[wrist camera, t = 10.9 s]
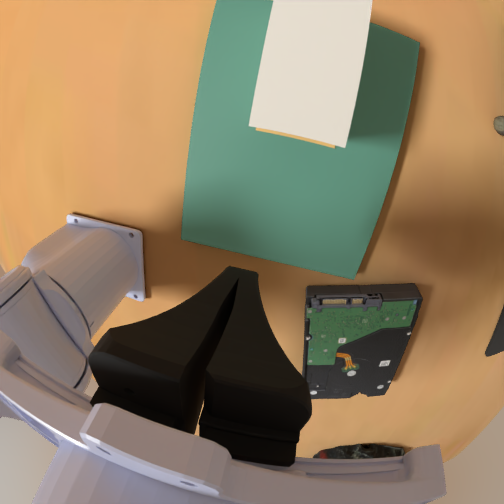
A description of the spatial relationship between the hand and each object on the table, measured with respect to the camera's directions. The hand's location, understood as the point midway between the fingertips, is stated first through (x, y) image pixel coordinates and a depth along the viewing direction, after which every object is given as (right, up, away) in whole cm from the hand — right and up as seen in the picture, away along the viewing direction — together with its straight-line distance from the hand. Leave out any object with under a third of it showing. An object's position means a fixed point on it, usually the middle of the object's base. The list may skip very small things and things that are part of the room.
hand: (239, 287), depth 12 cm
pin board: (+4, +10, +5) cm, 11 cm away
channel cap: (+4, +13, +2) cm, 14 cm away
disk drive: (+11, -7, +14) cm, 19 cm away
